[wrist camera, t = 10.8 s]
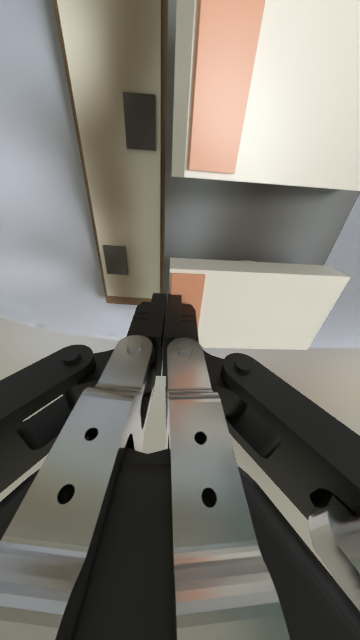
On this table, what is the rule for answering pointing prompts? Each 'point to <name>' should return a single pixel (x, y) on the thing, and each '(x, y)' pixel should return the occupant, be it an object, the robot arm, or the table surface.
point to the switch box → (167, 162)
